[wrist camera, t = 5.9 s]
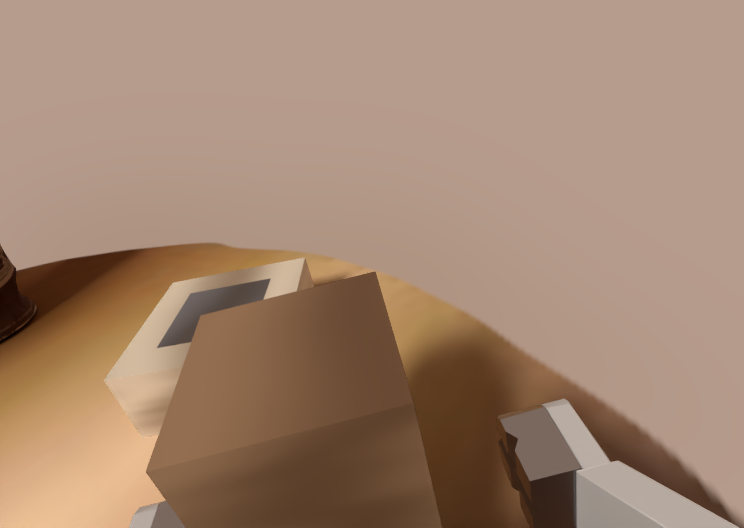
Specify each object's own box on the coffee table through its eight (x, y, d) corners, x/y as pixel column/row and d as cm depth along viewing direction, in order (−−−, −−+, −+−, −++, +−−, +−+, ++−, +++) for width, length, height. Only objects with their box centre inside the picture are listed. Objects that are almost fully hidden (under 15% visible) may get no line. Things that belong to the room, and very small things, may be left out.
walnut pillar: (323, 721, 11) (145, 472, 7) (318, 557, 15) (200, 315, 10) (476, 680, 11) (413, 402, 7) (436, 526, 15) (375, 271, 10)
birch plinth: (144, 442, 21) (103, 380, 20) (199, 335, 28) (172, 282, 26) (308, 416, 21) (282, 349, 19) (323, 313, 28) (305, 257, 26)
